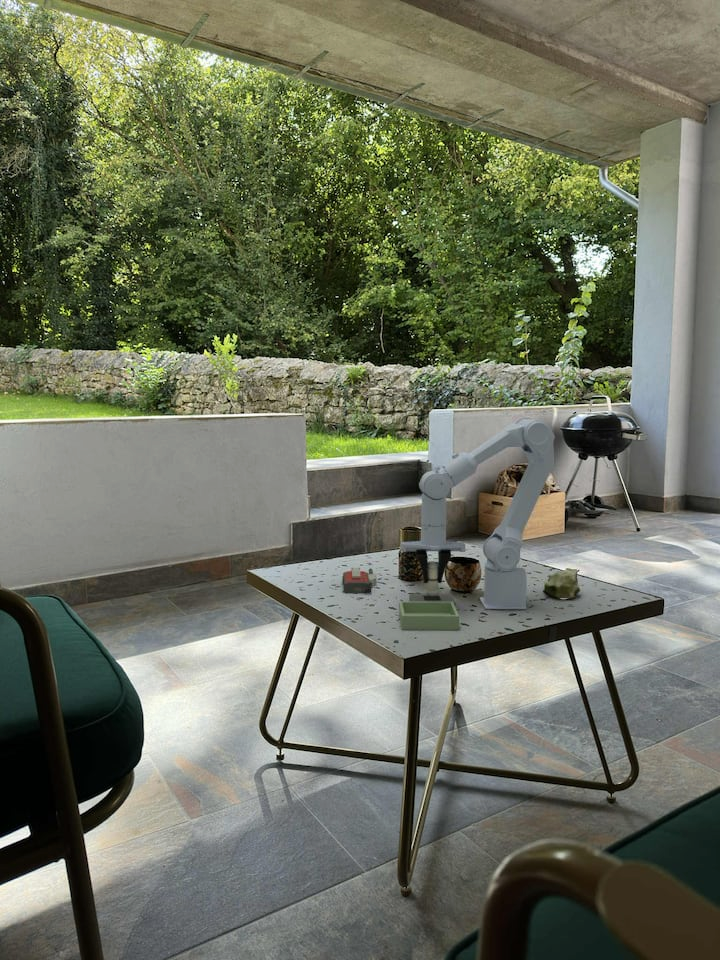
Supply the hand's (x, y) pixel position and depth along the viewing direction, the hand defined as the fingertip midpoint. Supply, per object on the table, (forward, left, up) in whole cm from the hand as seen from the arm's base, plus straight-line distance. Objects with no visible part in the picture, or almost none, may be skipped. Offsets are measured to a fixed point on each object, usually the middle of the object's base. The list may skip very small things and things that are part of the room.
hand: (432, 582), depth 167 cm
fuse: (0, 0, -3) cm, 3 cm away
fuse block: (0, 0, -6) cm, 6 cm away
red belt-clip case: (+17, -19, -6) cm, 26 cm away
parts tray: (+2, +11, -6) cm, 13 cm away
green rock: (-33, -9, -6) cm, 35 cm away
